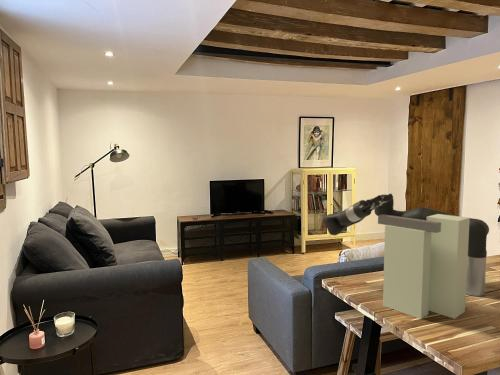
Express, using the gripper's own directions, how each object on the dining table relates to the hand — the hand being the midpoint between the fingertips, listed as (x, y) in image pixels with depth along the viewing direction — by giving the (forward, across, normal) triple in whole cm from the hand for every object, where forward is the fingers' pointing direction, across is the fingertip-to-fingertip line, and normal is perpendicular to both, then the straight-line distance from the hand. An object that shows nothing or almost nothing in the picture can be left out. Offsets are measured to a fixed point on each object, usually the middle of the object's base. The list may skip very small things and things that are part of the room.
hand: (386, 196), depth 157 cm
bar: (+5, -5, +16) cm, 17 cm away
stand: (-3, +7, +50) cm, 51 cm away
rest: (-12, -5, +45) cm, 47 cm away
